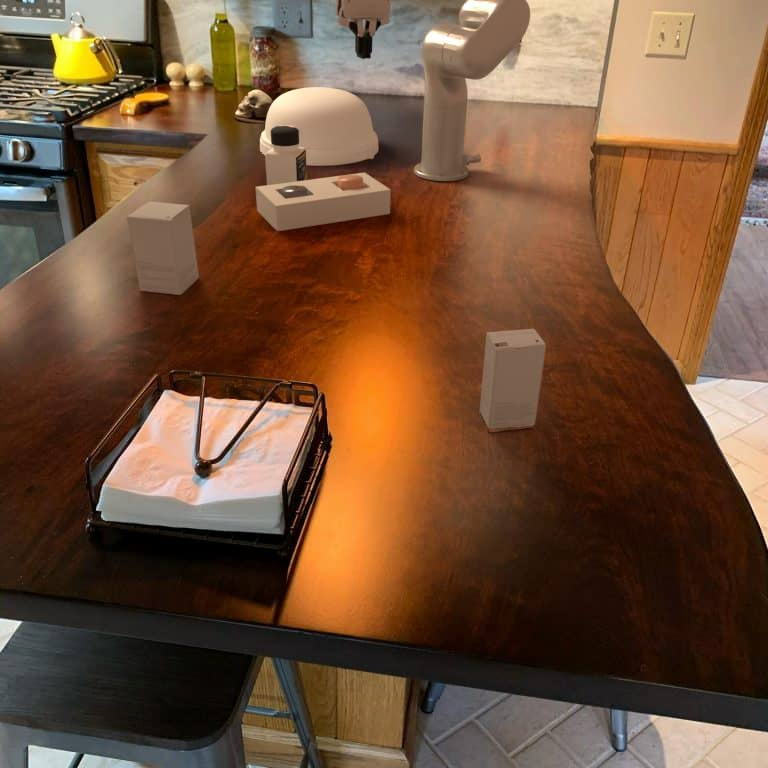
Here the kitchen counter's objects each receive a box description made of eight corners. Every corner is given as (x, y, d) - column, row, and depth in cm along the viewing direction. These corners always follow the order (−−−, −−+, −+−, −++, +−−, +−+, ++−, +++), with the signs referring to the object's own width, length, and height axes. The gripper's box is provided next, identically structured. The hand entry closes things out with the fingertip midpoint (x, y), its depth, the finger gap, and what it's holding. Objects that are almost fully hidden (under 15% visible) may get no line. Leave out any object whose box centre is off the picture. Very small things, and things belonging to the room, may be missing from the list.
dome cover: (403, 145, 199) (405, 88, 191) (339, 174, 177) (339, 111, 169) (302, 127, 212) (300, 73, 205) (232, 152, 190) (226, 93, 183)
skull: (227, 119, 213) (231, 85, 214) (238, 137, 223) (241, 105, 225) (270, 120, 211) (273, 85, 213) (278, 138, 221) (282, 105, 223)
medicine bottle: (297, 188, 167) (295, 132, 161) (266, 185, 168) (263, 130, 162) (307, 178, 173) (305, 124, 167) (276, 176, 174) (273, 122, 168)
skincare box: (523, 410, 97) (535, 325, 90) (535, 431, 93) (549, 344, 86) (476, 414, 96) (485, 329, 89) (486, 435, 92) (496, 348, 85)
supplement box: (200, 277, 128) (191, 204, 121) (180, 296, 122) (170, 220, 115) (159, 272, 129) (148, 199, 122) (138, 291, 123) (125, 215, 116)
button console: (364, 195, 164) (364, 172, 161) (389, 213, 155) (390, 189, 152) (257, 211, 155) (255, 186, 152) (277, 231, 146) (276, 205, 143)
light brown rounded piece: (356, 192, 159) (356, 173, 157) (366, 200, 155) (367, 180, 153) (334, 195, 157) (334, 176, 155) (344, 203, 153) (344, 183, 151)
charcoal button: (302, 203, 155) (301, 184, 153) (311, 211, 151) (311, 191, 149) (279, 207, 153) (278, 187, 151) (288, 215, 149) (287, 195, 147)
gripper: (391, -50, 148) (388, 52, 158) (319, -50, 142) (321, 56, 152) (409, -48, 142) (405, 58, 152) (335, -47, 137) (336, 63, 147)
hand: (363, 57), depth 152 cm, fingers closed
